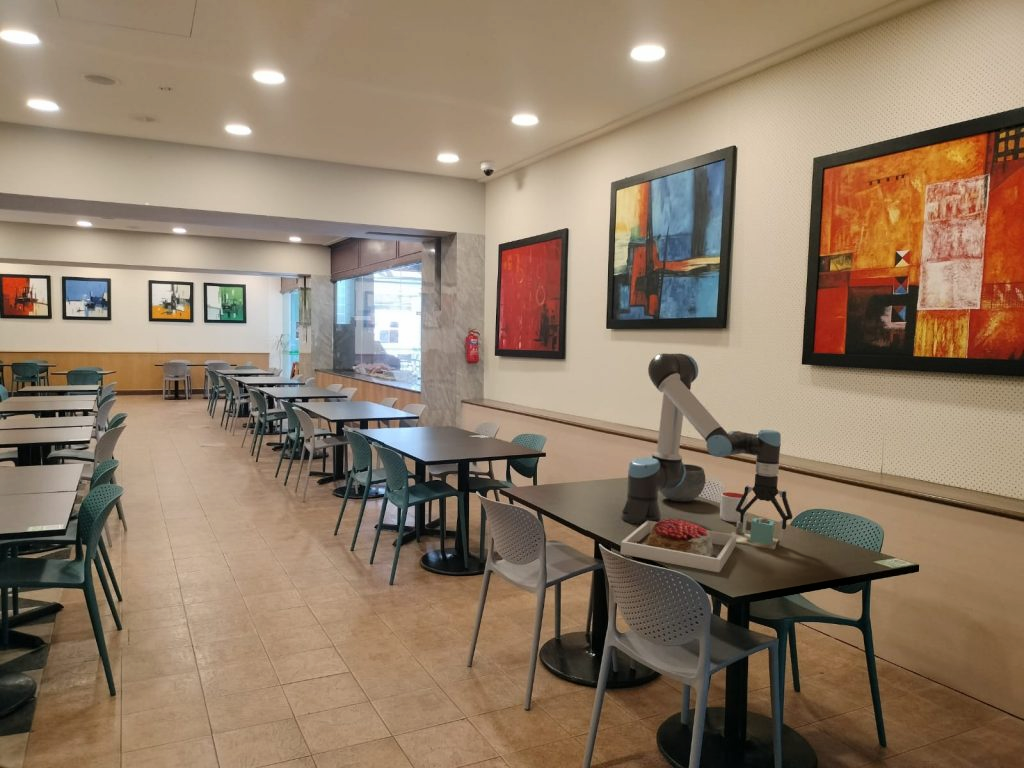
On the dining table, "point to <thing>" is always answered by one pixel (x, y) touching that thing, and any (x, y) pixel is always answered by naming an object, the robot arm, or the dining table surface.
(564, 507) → the dining table surface
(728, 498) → the cup
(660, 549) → the cake tray
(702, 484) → the bowl
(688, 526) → the cake
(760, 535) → the mint green cube
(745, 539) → the cream base with posts
